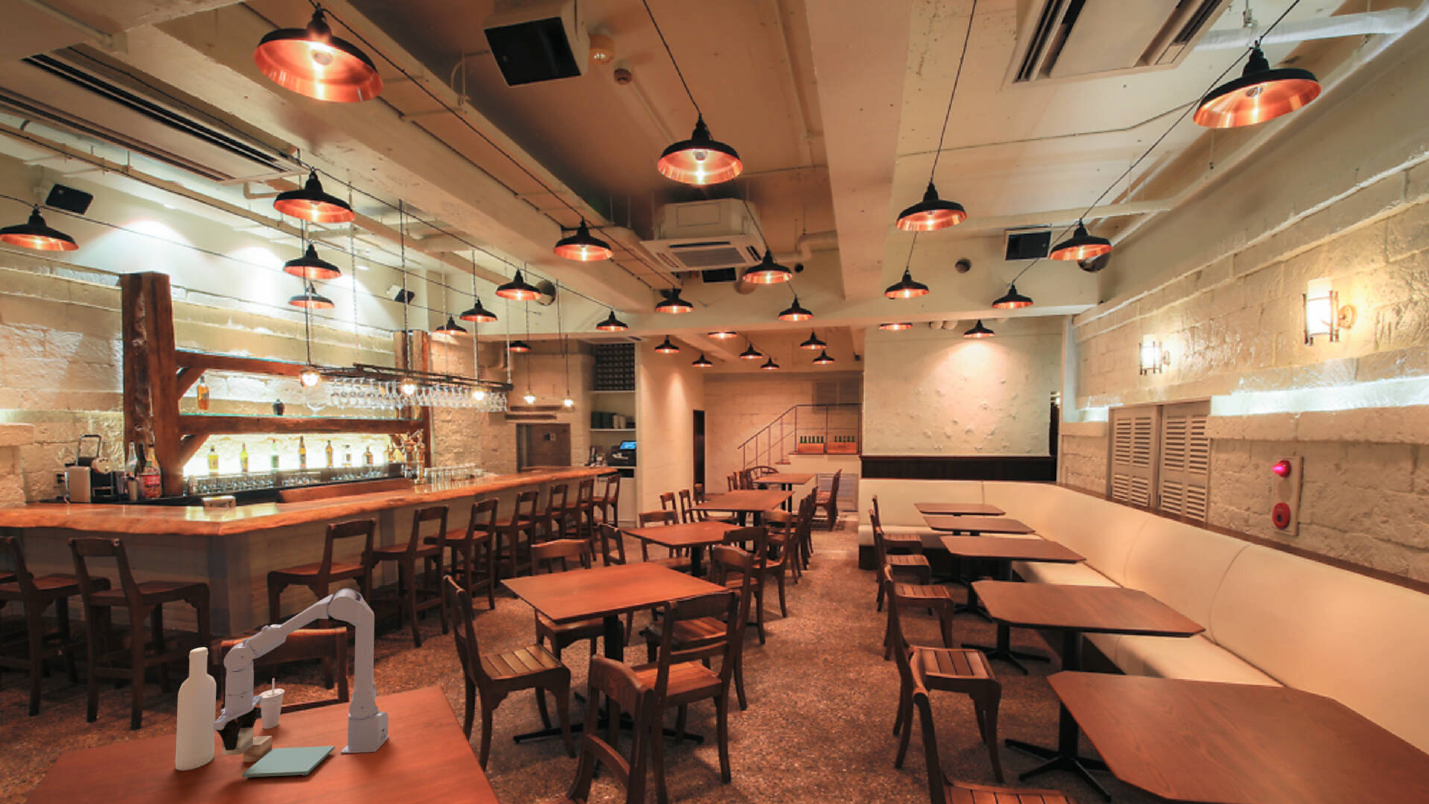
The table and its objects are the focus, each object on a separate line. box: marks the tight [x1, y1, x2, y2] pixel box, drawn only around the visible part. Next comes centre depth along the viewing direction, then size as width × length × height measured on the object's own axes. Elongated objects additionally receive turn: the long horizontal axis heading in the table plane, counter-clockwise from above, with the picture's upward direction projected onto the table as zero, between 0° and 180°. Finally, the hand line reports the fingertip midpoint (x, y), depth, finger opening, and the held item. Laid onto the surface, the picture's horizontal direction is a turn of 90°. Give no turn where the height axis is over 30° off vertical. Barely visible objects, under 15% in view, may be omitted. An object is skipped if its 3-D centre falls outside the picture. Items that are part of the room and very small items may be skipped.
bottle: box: [174, 647, 217, 771], centre depth 158 cm, size 8×8×30 cm
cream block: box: [221, 727, 254, 756], centre depth 153 cm, size 4×4×4 cm
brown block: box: [242, 735, 273, 763], centre depth 160 cm, size 4×4×4 cm
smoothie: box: [258, 677, 285, 730], centre depth 177 cm, size 6×6×14 cm
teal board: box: [241, 745, 336, 780], centre depth 155 cm, size 16×12×2 cm
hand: (238, 744), depth 153 cm, fingers closed on cream block, 4 cm apart
